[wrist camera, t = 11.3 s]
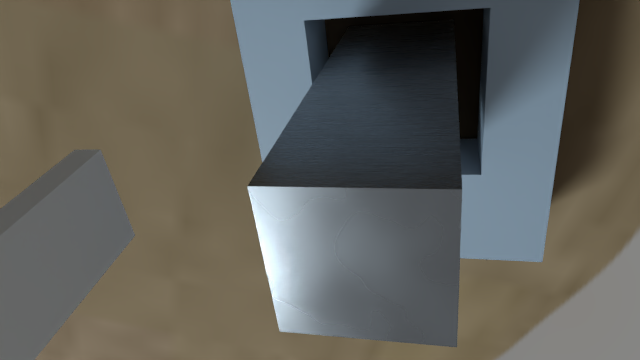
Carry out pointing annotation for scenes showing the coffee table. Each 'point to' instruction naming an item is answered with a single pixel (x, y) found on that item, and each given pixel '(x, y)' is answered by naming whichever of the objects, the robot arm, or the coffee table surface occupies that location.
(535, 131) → the bore block
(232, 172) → the coffee table surface
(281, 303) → the square bit
